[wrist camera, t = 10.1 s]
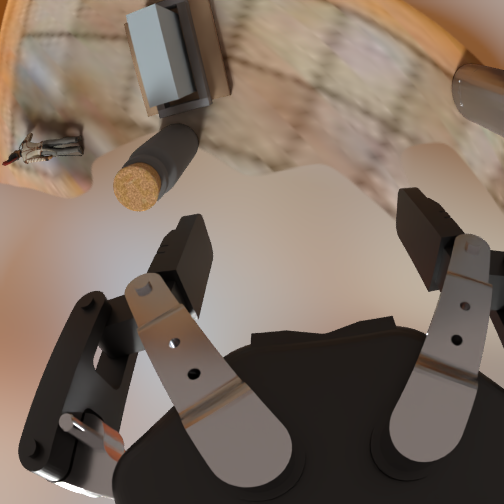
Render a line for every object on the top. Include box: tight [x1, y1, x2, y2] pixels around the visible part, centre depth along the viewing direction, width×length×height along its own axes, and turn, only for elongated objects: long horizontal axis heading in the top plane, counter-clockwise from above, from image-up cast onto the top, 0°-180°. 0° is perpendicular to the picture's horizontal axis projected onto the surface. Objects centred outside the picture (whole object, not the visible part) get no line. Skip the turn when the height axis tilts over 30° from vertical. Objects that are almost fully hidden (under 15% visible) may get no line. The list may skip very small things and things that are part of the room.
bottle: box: [113, 124, 198, 211], centre depth 31 cm, size 6×6×15 cm
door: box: [126, 4, 197, 108], centre depth 26 cm, size 3×11×8 cm, turn 11°
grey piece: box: [124, 0, 231, 118], centre depth 29 cm, size 11×15×3 cm
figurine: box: [2, 133, 83, 166], centre depth 35 cm, size 6×4×15 cm
